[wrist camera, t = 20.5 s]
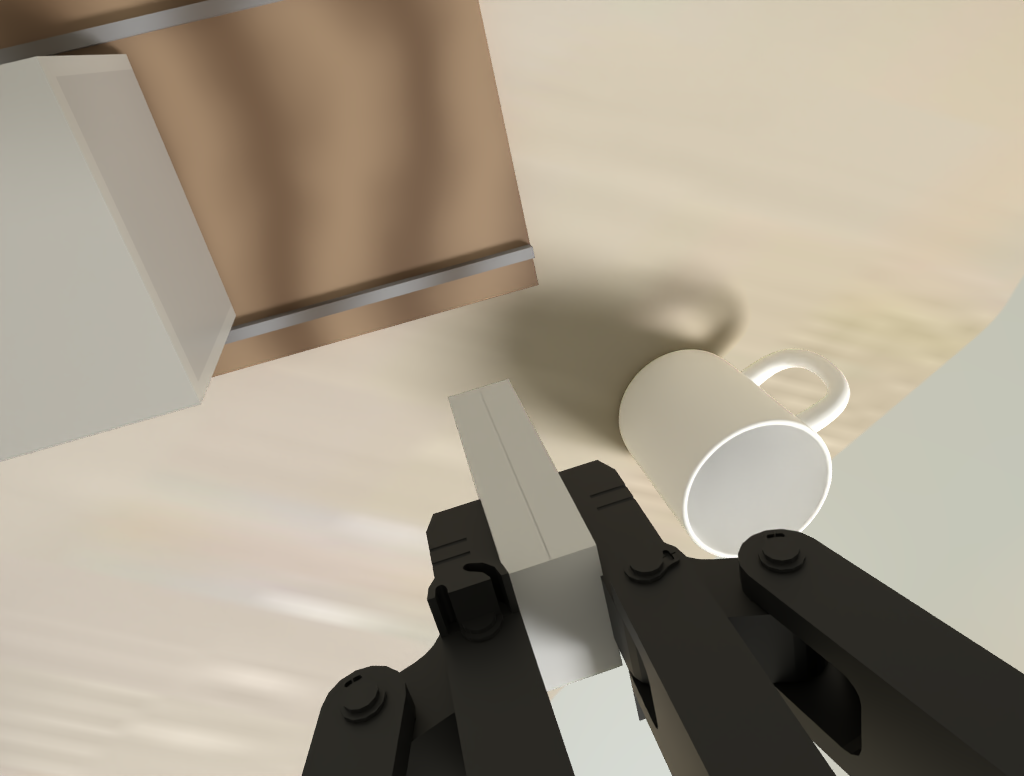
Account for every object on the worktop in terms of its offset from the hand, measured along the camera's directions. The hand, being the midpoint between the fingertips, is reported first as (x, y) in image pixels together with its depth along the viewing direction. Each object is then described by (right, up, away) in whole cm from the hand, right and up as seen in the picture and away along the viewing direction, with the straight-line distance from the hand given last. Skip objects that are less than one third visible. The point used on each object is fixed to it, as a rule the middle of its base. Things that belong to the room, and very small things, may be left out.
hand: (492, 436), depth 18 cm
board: (-12, +12, +18) cm, 24 cm away
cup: (+12, +1, +29) cm, 31 cm away
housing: (-19, +9, +16) cm, 26 cm away
